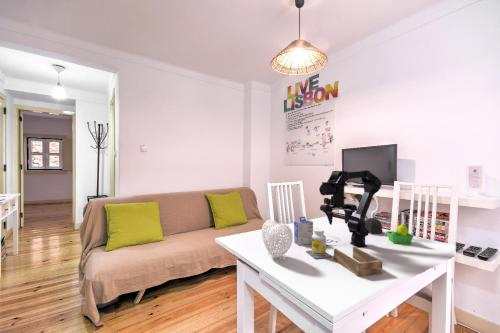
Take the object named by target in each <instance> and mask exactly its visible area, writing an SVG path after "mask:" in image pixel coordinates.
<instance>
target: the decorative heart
mask: <svg viewBox="0 0 500 333" xmlns="http://www.w3.org/2000/svg"><path fill="white" fill-rule="evenodd" d="M261 227H262V228H261V238H262V242H263V244H264V246H265V248H266V250H267V252H268V253H267V254H268V256H270V255H271V257H272V258H274V259H279V260H282V256H283V260H282V261H283V262H285V260H286V259H285V254H286V253H287V252H288V251H289V249H290V248H291V246H292V244H293V237H294V235H293V232H292V228H291V227H289V225H287V224H286V223H278V222H277V221H275V220H273V219H268V220H266V221H264V222H263V224H262V226H261Z"/></svg>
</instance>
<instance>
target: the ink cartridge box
mask: <svg viewBox="0 0 500 333" xmlns="http://www.w3.org/2000/svg"><path fill="white" fill-rule="evenodd" d="M293 234H294V235H293V237H294V242H293V243H294V244H296V245H297V246H302V245H309V244H310V245H312V235H313V234H314V222H313V221H312V220H310V219H306V217H305V216H300V217H299V220H297V221H296V220H295V221H293Z"/></svg>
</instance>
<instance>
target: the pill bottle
mask: <svg viewBox="0 0 500 333" xmlns="http://www.w3.org/2000/svg"><path fill="white" fill-rule="evenodd" d="M324 233H325V230H324V229H322V228H313V235H312V244H311V250H312V253H313V254H315V255H320V256H321V255H325V254H326V252H327V250H326V248H327V247H326V246H327V243H326V242H327V239H326V236H325V234H324Z"/></svg>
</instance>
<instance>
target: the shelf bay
mask: <svg viewBox="0 0 500 333" xmlns="http://www.w3.org/2000/svg"><path fill="white" fill-rule="evenodd" d="M333 260H334V261H335V262H336V263H338V264H339V265H341V266H342V267H343V268H345V269H347V270H348V271H349V272H351V273H352V274H354V275H356V276H357V277H365V276H373V275H380V274H381V275H382V274H383V260H381V259H379V258H378V257H375V256H373V255H371V254H369V253H368V252H366V251H364V250H362V249H359V247H356V246H353V247H352V257H350V256H349V255H347V254H346V253H344V252H342V251H341V250H339V249H337V248H333Z"/></svg>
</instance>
